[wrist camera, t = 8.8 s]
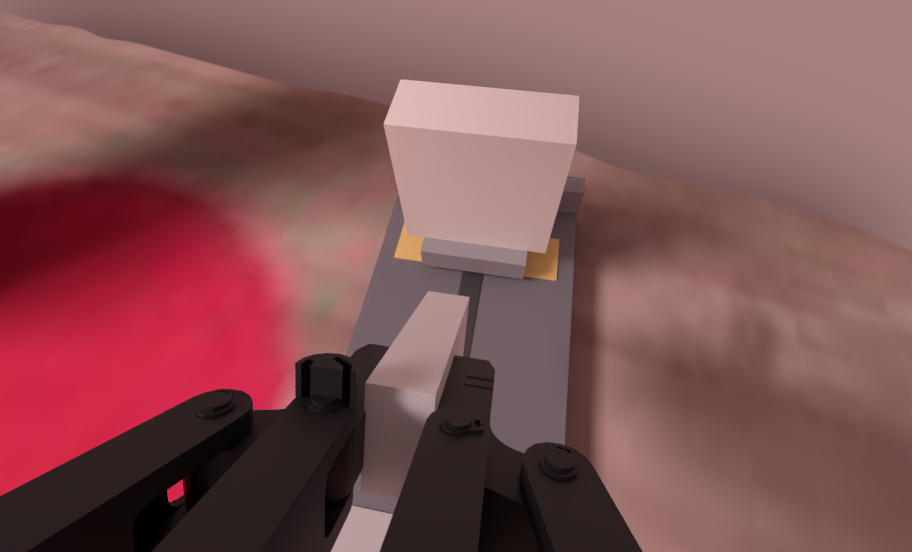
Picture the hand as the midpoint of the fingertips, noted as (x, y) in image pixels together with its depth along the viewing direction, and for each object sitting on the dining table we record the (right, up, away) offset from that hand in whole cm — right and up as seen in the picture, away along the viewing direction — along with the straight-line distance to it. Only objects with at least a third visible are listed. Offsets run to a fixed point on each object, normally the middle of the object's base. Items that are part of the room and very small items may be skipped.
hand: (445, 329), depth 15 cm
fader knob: (+2, +4, +11) cm, 12 cm away
